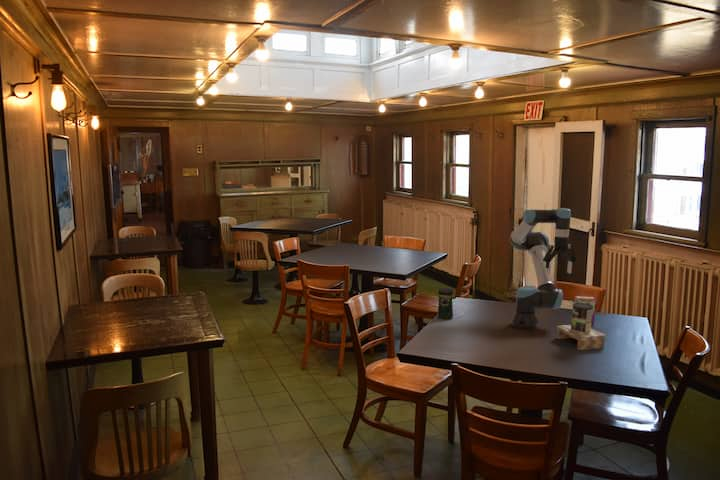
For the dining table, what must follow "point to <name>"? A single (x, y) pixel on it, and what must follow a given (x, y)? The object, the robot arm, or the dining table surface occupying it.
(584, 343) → the birch shelf
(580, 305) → the coffee can
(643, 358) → the dining table surface
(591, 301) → the candy bar box
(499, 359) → the dining table surface
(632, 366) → the dining table surface
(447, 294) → the coffee jar
